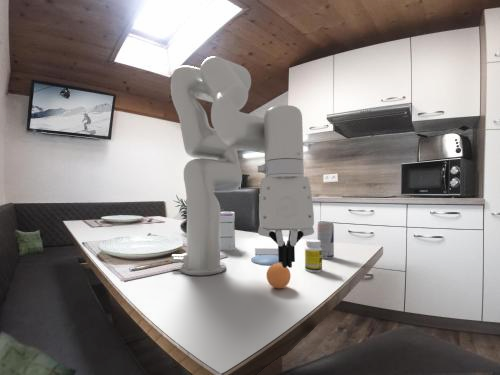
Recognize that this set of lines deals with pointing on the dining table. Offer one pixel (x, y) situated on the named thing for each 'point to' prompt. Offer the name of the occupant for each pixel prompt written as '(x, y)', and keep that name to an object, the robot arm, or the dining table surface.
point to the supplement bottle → (313, 256)
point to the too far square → (266, 251)
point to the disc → (266, 259)
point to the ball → (278, 275)
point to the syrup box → (227, 230)
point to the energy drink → (326, 239)
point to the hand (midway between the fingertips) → (286, 265)
